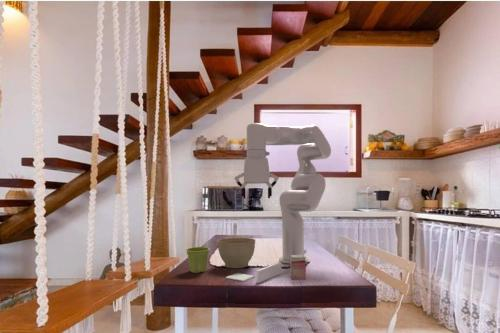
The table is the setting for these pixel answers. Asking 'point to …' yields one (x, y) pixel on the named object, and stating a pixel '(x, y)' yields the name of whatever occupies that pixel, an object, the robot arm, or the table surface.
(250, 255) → the planter bowl
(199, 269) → the plant pot
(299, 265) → the small box
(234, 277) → the pad
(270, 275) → the low wall
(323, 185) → the robot arm
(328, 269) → the table surface
